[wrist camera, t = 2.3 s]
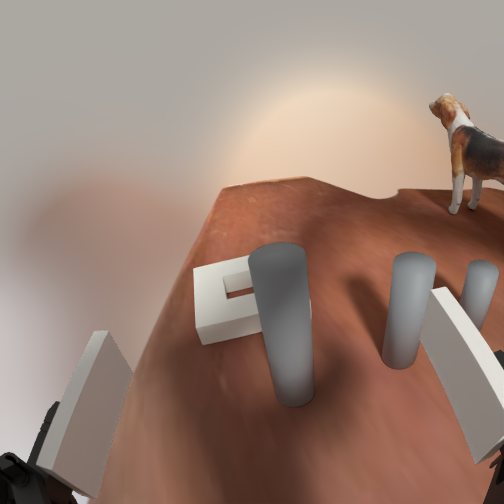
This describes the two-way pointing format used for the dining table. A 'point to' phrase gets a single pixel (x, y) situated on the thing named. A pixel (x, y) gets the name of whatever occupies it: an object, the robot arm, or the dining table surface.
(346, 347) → the dining table surface
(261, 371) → the dining table surface
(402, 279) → the medium dowel
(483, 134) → the dog model
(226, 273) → the block
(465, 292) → the short dowel
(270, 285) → the tall dowel
